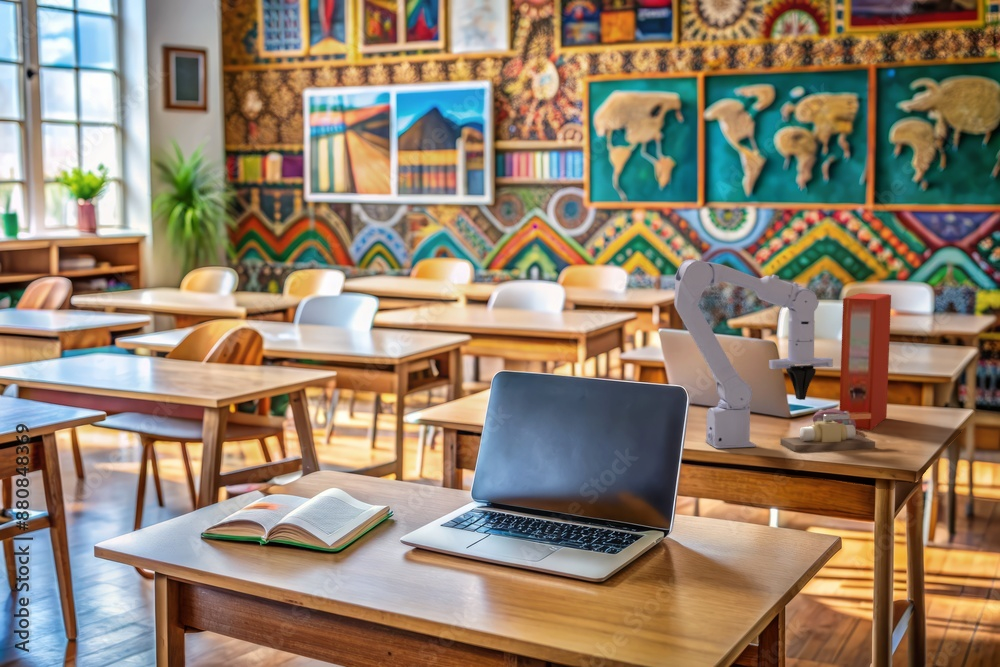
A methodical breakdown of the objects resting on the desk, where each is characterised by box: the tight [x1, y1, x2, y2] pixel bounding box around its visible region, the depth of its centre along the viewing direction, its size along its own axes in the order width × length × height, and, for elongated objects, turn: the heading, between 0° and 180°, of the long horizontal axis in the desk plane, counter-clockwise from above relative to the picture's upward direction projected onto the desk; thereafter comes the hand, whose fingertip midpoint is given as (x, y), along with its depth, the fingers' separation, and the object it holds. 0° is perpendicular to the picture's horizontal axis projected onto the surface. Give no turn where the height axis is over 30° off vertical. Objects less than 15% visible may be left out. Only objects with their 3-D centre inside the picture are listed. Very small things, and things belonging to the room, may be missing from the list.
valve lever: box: [823, 412, 871, 422], centre depth 246 cm, size 11×2×2 cm, turn 99°
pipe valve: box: [799, 421, 857, 442], centre depth 246 cm, size 12×4×4 cm, turn 98°
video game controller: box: [812, 408, 857, 430], centre depth 262 cm, size 10×5×7 cm, turn 63°
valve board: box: [779, 434, 876, 453], centre depth 246 cm, size 19×8×2 cm, turn 98°
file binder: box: [838, 292, 892, 431], centre depth 271 cm, size 8×17×32 cm, turn 149°
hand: (800, 399), depth 248 cm, fingers closed
